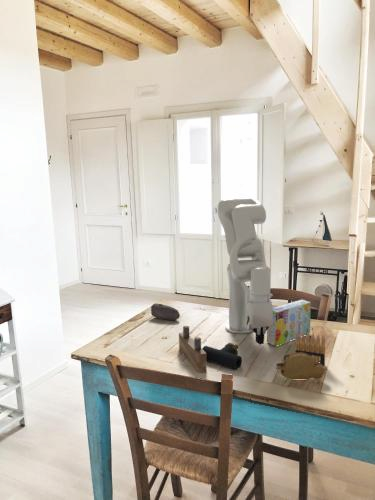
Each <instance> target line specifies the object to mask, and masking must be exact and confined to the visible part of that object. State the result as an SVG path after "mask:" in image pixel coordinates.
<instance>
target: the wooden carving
mask: <svg viewBox="0 0 375 500" xmlns="http://www.w3.org/2000/svg"><path fill="white" fill-rule="evenodd" d="M275 365H276V367H275V368H276V369H277V370H279V371H280V375H281V376H282V377H284V378H286V379H289V380H291V379H308V380H310V379H315V380H321V378H322V377H323V374H324V373H325V372H326V370H327V369H326V367H324V365H322V364H321V363H318V362H316V360H315V357H314V356H313V354H312V355H309V354H307V353H302V352H299V353H295V352H293V353H288V354H284V356H283V362H277V363H276V364H275Z"/></svg>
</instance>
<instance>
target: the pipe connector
mask: <svg viewBox="0 0 375 500" xmlns="http://www.w3.org/2000/svg"><path fill="white" fill-rule="evenodd" d="M201 348H202V349H203V350H204V351H205V352H206V361H209V362H212V363H215V364H217V365H221V366H223V367H227V368H230V369H233V370H236V371H238V368H239V369H240V368H241V367H242V364H243V362H242V361H243V357H242V356H240V355H239V351H238V349H239V344H233V343H232V342H228V343H226V344H225V345H224V347H222V348H221V349H217V348H214V347H211V346H208V345H204V346H203V347H201Z"/></svg>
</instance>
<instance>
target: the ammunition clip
mask: <svg viewBox="0 0 375 500" xmlns="http://www.w3.org/2000/svg"><path fill="white" fill-rule="evenodd" d="M300 339H301V340H300ZM320 340H321V341H320ZM299 352H302V353H307V354H309V355H312V354H313V356H314V357H315V360H316V362H318V363H319V362H320V363H321V364H322V365H325V366H326V364H325V363H326V339H325V335H324V334H323V335H322V337H321V339H320V335H319V334H317V336H316V340H315V334H314V333H312V334H311V338H310V335H309V333H308V334H307V336H304V333H302V337H301V338H300V335H299V332H298V333H297V338H296V340H295V350H294V353H299Z"/></svg>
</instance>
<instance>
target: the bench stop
mask: <svg viewBox="0 0 375 500" xmlns="http://www.w3.org/2000/svg"><path fill="white" fill-rule="evenodd" d="M182 329H183V330H182V332H179V333H178V346H179V347H178V349H179V351H180V352H181V353H182V355H183V356H184V358H186V360H188V362H189V363H190V364H191V366H192V367H193V368H194V369H195V370H196V372H197V373H198V374H201V373H205V372H207V360H206V352H205V351H204V350H203V349H202V348H203V347H202V338H201V337H199V336H197V337H194V338H192V336H190V326H188V325H184V326H183V327H182Z"/></svg>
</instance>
